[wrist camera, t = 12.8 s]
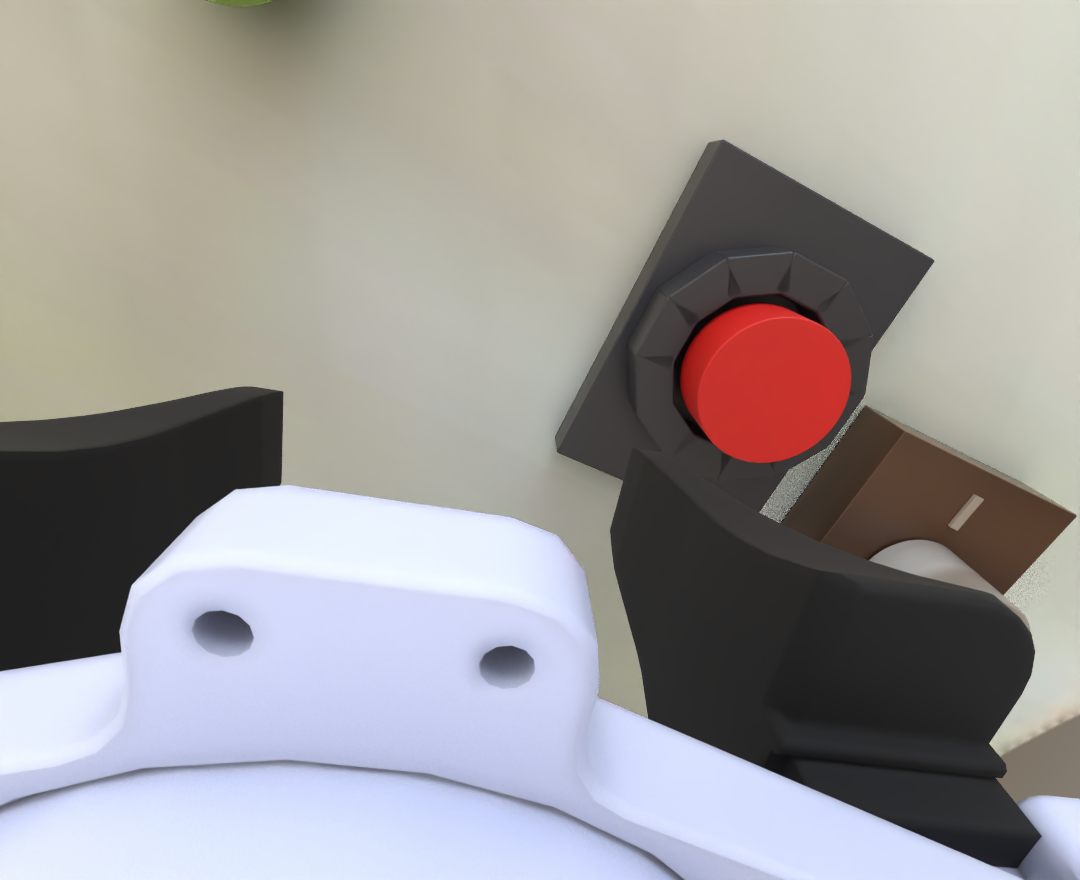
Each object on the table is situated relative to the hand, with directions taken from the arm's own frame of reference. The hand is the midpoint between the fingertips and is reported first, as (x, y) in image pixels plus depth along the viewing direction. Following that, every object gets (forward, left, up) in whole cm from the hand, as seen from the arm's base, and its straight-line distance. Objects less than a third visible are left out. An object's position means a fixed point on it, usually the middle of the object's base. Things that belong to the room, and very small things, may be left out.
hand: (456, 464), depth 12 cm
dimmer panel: (-1, -18, -9) cm, 20 cm away
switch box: (+3, -8, -9) cm, 13 cm away
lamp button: (+4, -8, -7) cm, 11 cm away
